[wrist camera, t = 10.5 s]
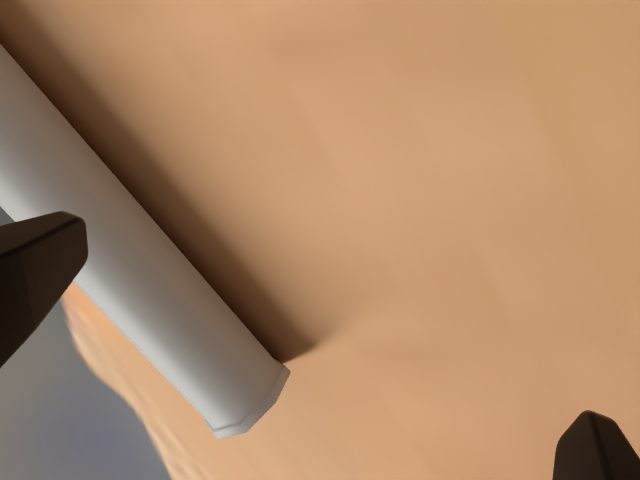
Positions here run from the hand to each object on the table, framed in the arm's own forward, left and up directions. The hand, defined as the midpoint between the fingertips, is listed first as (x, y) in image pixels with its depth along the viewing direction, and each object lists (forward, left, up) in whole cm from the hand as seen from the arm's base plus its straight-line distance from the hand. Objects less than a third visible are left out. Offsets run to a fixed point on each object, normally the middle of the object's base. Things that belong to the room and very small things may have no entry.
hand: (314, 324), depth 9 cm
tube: (+13, +10, -14) cm, 22 cm away
